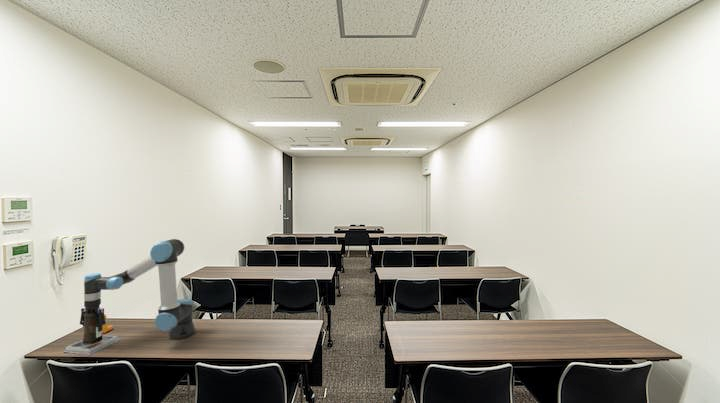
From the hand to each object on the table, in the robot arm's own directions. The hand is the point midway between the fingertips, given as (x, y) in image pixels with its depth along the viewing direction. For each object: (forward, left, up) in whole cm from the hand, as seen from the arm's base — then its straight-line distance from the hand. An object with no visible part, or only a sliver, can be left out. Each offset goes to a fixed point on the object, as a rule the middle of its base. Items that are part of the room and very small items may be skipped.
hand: (92, 336), depth 178 cm
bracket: (+15, -18, -6) cm, 24 cm away
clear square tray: (0, 0, -6) cm, 6 cm away
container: (0, 0, -3) cm, 3 cm away
